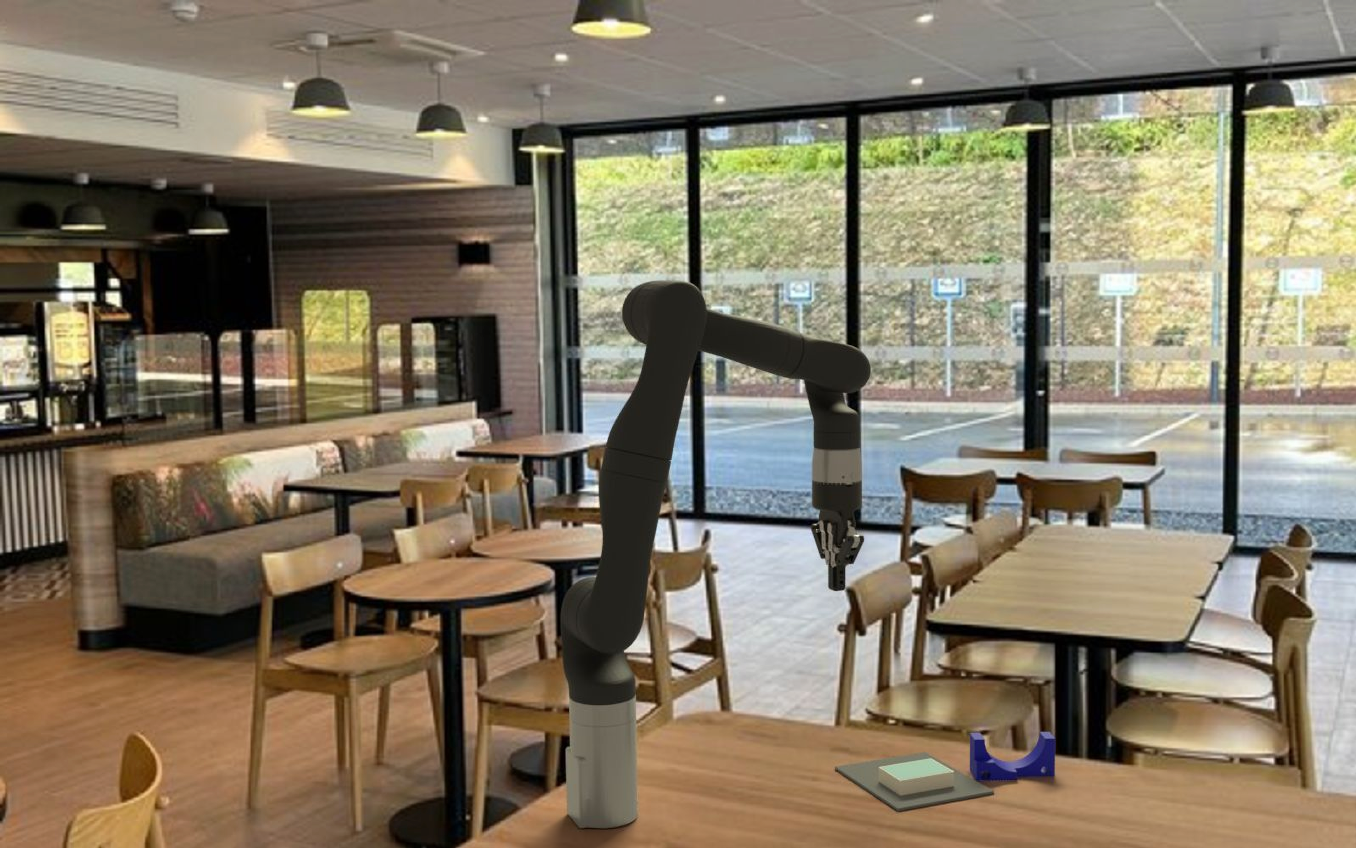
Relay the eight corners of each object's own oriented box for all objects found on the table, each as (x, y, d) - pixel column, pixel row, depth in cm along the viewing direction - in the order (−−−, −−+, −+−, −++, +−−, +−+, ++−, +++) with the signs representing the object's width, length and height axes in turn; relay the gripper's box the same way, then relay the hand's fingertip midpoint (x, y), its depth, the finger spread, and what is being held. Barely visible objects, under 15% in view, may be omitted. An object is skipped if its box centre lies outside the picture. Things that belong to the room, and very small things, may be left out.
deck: (878, 781, 194) (900, 795, 189) (878, 767, 194) (900, 780, 188) (930, 772, 198) (953, 786, 192) (931, 758, 197) (953, 771, 192)
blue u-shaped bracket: (976, 782, 195) (976, 743, 194) (969, 771, 200) (970, 733, 199) (1057, 781, 195) (1058, 742, 195) (1048, 770, 200) (1049, 732, 199)
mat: (897, 811, 184) (897, 808, 184) (835, 769, 201) (834, 766, 201) (993, 793, 190) (993, 791, 190) (925, 754, 207) (925, 752, 206)
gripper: (794, 473, 204) (795, 583, 206) (836, 484, 192) (836, 601, 194) (837, 470, 207) (837, 579, 209) (880, 481, 195) (880, 596, 197)
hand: (836, 589), depth 201 cm, fingers closed
